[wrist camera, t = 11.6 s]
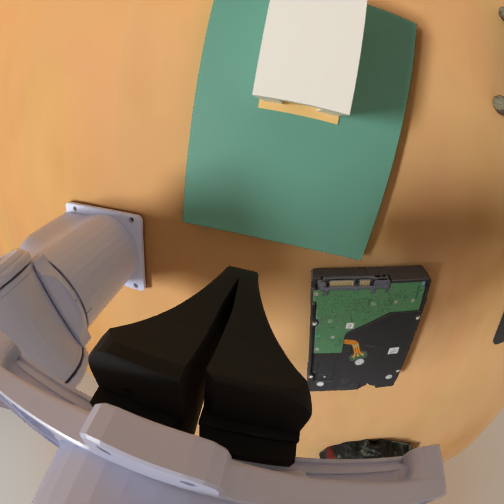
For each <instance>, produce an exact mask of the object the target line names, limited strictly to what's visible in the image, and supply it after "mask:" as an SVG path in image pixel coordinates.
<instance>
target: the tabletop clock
mask: <svg viewBox="0 0 504 504" xmlns="http://www.w3.org/2000/svg"><path fill="white" fill-rule="evenodd" d="M499 14H500V16H501V17H502V19H504V7H500V8H499ZM493 106H494V108H495V109H496V111H497V112H498V113H500V114H504V97H503V96H501V95H498V96H495V97H494V99H493Z"/></svg>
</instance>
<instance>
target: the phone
mask: <svg viewBox="0 0 504 504" xmlns="http://www.w3.org/2000/svg"><path fill="white" fill-rule="evenodd" d="M493 342H494V344H499V343H502V342H504V313H503V316H502V319H501V321H500V324H499V326H498V329H497V332H496V334H495V336H494V339H493Z"/></svg>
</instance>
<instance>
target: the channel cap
mask: <svg viewBox="0 0 504 504" xmlns="http://www.w3.org/2000/svg"><path fill="white" fill-rule="evenodd" d="M366 7H367V0H270V2H269V7H268V12H267V17H266V22H265V27H264V32H263V38H262V43H261V48H260V54H259V59H258V65H257V70H256V76H255V82H254V87H253V93H252V95H254V96H255V97H257V98H259V99H261V100H263V101H266V102H272V103H278V104H283V101H286V102H292V103H297V104H302V105H306V106H311V107H315V108H317V112H321V113H325V114H329V115H333V116H343V115H350V110H351V105H352V100H353V95H354V89H355V84H356V78H357V72H358V66H359V60H360V54H361V47H362V40H363V32H364V25H365V16H366Z"/></svg>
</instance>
